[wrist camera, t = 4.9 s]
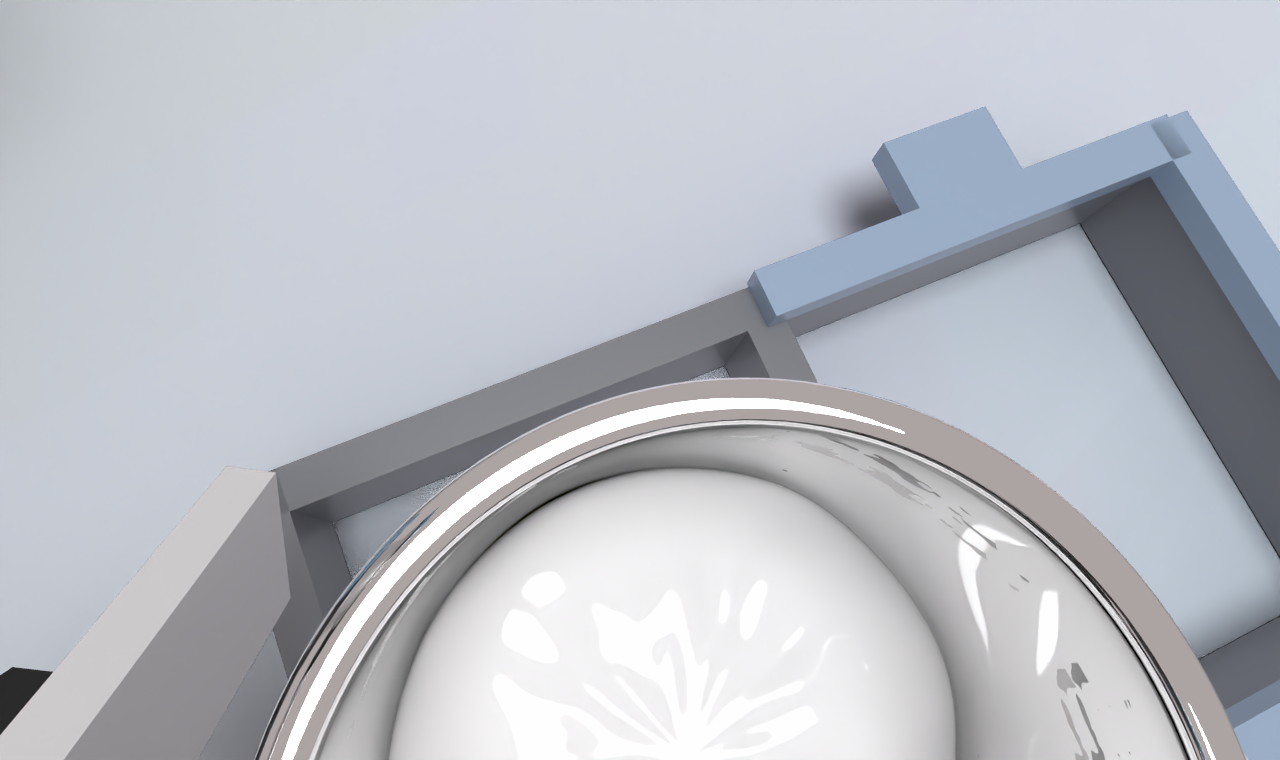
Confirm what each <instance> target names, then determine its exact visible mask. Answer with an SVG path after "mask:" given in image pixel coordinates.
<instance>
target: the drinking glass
mask: <svg viewBox="0 0 1280 760" xmlns="http://www.w3.org/2000/svg"><path fill="white" fill-rule="evenodd" d="M254 760H1246V758H1245V755H1244V753H1243V750H1242V748H1241V746H1240V743H1239V741H1238V738H1237V736H1236V733H1235V731H1234V729H1233V727H1232V724H1231V722H1230V720H1229V718H1228V716H1227V714H1226V711H1225V709H1224V707H1223V705H1222V703H1221V701H1220V699H1219V697H1218V695H1217V693H1216V691H1215V689H1214V687H1213V685H1212V683H1211V682H1210V680H1209V678H1208V676H1207V674H1206V673H1205V671H1204V669H1203V667H1202V665H1201V663H1200V662H1199V660H1198V658H1197V656H1196V655H1195V653H1194V652H1193V650H1192V648H1191V647H1190V645H1189V643H1188V642H1187V640H1186V638H1185V637H1184V635H1183V634H1182V632H1181V631H1180V629H1179V628H1178V626H1177V625H1176V623H1175V622H1174V620H1173V619H1172V617H1171V616H1170V614H1169V613H1168V612H1167V610H1166V609H1165V607H1164V606H1163V605H1162V603H1161V602H1160V601H1159V599H1158V598H1157V597H1156V595H1155V594H1154V593H1153V591H1152V590H1151V589H1150V587H1149V586H1148V585H1147V584H1146V582H1145V581H1144V580H1143V578H1142V577H1141V576H1140V575H1139V573H1138V572H1137V571H1136V570H1135V569H1134V568H1133V566H1132V565H1131V564H1130V563H1129V562H1128V561H1127V559H1126V558H1125V557H1124V556H1123V555H1122V554H1121V553H1120V552H1119V550H1118V549H1117V548H1116V547H1115V546H1114V545H1113V544H1112V543H1111V542H1110V541H1109V540H1108V539H1107V538H1106V537H1105V536H1104V535H1103V534H1102V533H1101V532H1100V531H1099V530H1098V529H1097V528H1096V527H1095V526H1094V525H1093V524H1092V523H1091V522H1090V521H1089V520H1088V519H1087V518H1086V517H1085V516H1084V515H1082V514H1081V513H1080V512H1079V511H1078V510H1077V509H1076V508H1075V507H1074V506H1073V505H1071V504H1070V503H1069V502H1068V501H1067V500H1066V499H1064V498H1063V497H1062V496H1061V495H1060V494H1058V493H1057V492H1056V491H1055V490H1054V489H1052V488H1051V487H1050V486H1049V485H1047V484H1046V483H1045V482H1043V481H1042V480H1041V479H1039V478H1038V477H1037V476H1035V475H1034V474H1033V473H1031V472H1030V471H1028V470H1027V469H1025V468H1024V467H1023V466H1021V465H1020V464H1018V463H1017V462H1015V461H1014V460H1012V459H1011V458H1009V457H1008V456H1006V455H1005V454H1003V453H1001V452H1000V451H998V450H997V449H995V448H993V447H992V446H990V445H988V444H986V443H985V442H983V441H981V440H979V439H978V438H976V437H974V436H972V435H970V434H968V433H966V432H964V431H962V430H960V429H959V428H957V427H955V426H952V425H950V424H948V423H946V422H944V421H942V420H939V419H937V418H935V417H933V416H930V415H928V414H925V413H923V412H921V411H918V410H916V409H913V408H910V407H908V406H905V405H902V404H899V403H896V402H894V401H891V400H887V399H884V398H880V397H877V396H874V395H870V394H866V393H863V392H859V391H855V390H851V389H846V388H841V387H836V386H831V385H826V384H819V383H813V382H807V381H798V380H788V379H774V378H716V379H705V380H694V381H687V382H679V383H672V384H667V385H662V386H656V387H651V388H647V389H642V390H638V391H634V392H629V393H626V394H622V395H619V396H616V397H612V398H609V399H605V400H602V401H600V402H597V403H594V404H591V405H588V406H585V407H582V408H580V409H577V410H575V411H572V412H570V413H567V414H565V415H562V416H560V417H558V418H556V419H553V420H551V421H549V422H547V423H545V424H542V425H540V426H538V427H536V428H535V429H533V430H531V431H529V432H527V433H525V434H523V435H521V436H519V437H517V438H516V439H514V440H512V441H510V442H509V443H507V444H505V445H504V446H502V447H500V448H499V449H497V450H495V451H494V452H492V453H491V454H489V455H487V456H486V457H484V458H483V459H481V460H480V461H478V462H477V463H475V464H474V465H473V466H471V467H470V468H468V469H467V470H465V471H464V472H463V473H461V474H460V475H459V476H457V477H456V478H455V479H453V480H452V481H451V482H450V483H448V484H447V485H446V486H444V487H443V488H442V489H441V490H439V491H438V492H437V493H436V494H435V495H434V496H432V497H431V498H430V499H429V500H428V501H426V502H425V503H424V504H423V505H422V506H421V507H420V508H419V509H418V510H416V511H415V512H414V513H413V514H412V515H411V516H410V517H409V518H408V519H407V520H406V521H405V522H404V523H403V524H402V525H401V526H400V527H399V528H398V529H397V530H396V531H395V532H394V533H393V534H392V535H391V536H390V537H389V538H388V539H387V540H386V541H385V542H384V543H383V545H382V546H381V547H380V548H379V549H378V550H377V551H376V552H375V554H374V555H373V556H372V557H371V558H370V559H369V560H368V561H367V563H366V564H365V565H364V566H363V568H362V569H361V570H360V571H359V572H358V574H357V575H356V576H355V577H354V579H353V580H352V581H351V582H350V584H349V585H348V586H347V588H346V589H345V590H344V592H343V593H342V594H341V596H340V597H339V598H338V600H337V601H336V603H335V604H334V605H333V607H332V608H331V610H330V611H329V613H328V614H327V616H326V617H325V619H324V620H323V622H322V623H321V625H320V626H319V628H318V629H317V631H316V633H315V634H314V636H313V638H312V639H311V641H310V643H309V644H308V646H307V647H306V649H305V651H304V653H303V654H302V656H301V658H300V660H299V662H298V663H297V665H296V667H295V669H294V671H293V672H292V674H291V676H290V678H289V680H288V682H287V684H286V686H285V688H284V690H283V692H282V694H281V696H280V698H279V700H278V702H277V704H276V707H275V709H274V711H273V713H272V716H271V718H270V720H269V722H268V724H267V727H266V729H265V732H264V734H263V737H262V739H261V742H260V745H259V747H258V750H257V752H256V755H255V758H254Z"/></svg>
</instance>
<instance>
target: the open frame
mask: <svg viewBox="0 0 1280 760" xmlns="http://www.w3.org/2000/svg"><path fill="white" fill-rule="evenodd" d="M872 161H873V163H874V165H875V167H876V169H877V171H878V172H879V174H880V176H881V178H882V180H883V182H884V183H885V185H886V187H887V189H888V191H889V193H890V194H891V196H892V198H893V200H894V202H895V204H896V205H897V207H898V209H899V211H900V213H901V215H900V216H897V217H895V218H892V219H890V220H887V221H884V222H882V223H879V224H876V225H874V226H871V227H868V228H866V229H863V230H861V231H858V232H855V233H853V234H850V235H847V236H845V237H842V238H839V239H837V240H834V241H832V242H829V243H826V244H824V245H821V246H818V247H816V248H813V249H811V250H808V251H805V252H803V253H800V254H797V255H795V256H792V257H789V258H787V259H784V260H782V261H779V262H776V263H774V264H771V265H768V266H766V267H763V268H760V269H758V270H755V271H754V272H753V274H752V276H751V278H750V280H749V281H748V283H747V284H748V288H746V289H743V290H741V291H738V292H735V293H733V294H730V295H728V296H725V297H722V298H720V299H717V300H715V301H712V302H709V303H707V304H704V305H701V306H699V307H696V308H694V309H691V310H688V311H686V312H683V313H681V314H678V315H675V316H673V317H670V318H668V319H665V320H662V321H660V322H657V323H655V324H652V325H649V326H647V327H644V328H641V329H639V330H636V331H634V332H631V333H628V334H626V335H623V336H621V337H618V338H615V339H613V340H610V341H608V342H605V343H602V344H600V345H597V346H594V347H592V348H589V349H587V350H584V351H581V352H579V353H576V354H574V355H571V356H568V357H566V358H563V359H561V360H558V361H555V362H553V363H550V364H548V365H545V366H542V367H540V368H537V369H534V370H532V371H529V372H527V373H524V374H521V375H519V376H516V377H514V378H511V379H508V380H506V381H503V382H501V383H498V384H495V385H493V386H490V387H487V388H485V389H482V390H480V391H477V392H474V393H472V394H469V395H467V396H464V397H461V398H459V399H456V400H454V401H451V402H448V403H446V404H443V405H441V406H438V407H435V408H433V409H430V410H427V411H425V412H422V413H420V414H417V415H414V416H412V417H409V418H407V419H404V420H401V421H399V422H396V423H394V424H391V425H388V426H386V427H383V428H380V429H378V430H375V431H373V432H370V433H367V434H365V435H362V436H360V437H357V438H354V439H352V440H349V441H347V442H344V443H341V444H339V445H336V446H334V447H331V448H328V449H326V450H323V451H320V452H318V453H315V454H313V455H310V456H307V457H305V458H302V459H300V460H297V461H294V462H292V463H289V464H287V465H284V466H281V467H279V468H276V469H273V470H271V471H268V472H276V478H277V487H278V495H279V503H280V512H281V520H282V529H283V537H284V546H285V554H286V563H287V571H288V580H289V588H290V597H291V598H290V600H289V602H288V603H287V605H286V607H285V609H284V610H283V612H282V614H281V615H280V617H279V619H278V621H277V622H276V624H275V626H274V628H273V631H274V635H275V638H276V641H277V644H278V648H279V651H280V654H281V658H282V661H283V664H284V667H285V671H286V674H287V677H288V680H289V678H290V676H291V674H292V672H293V671H294V669H295V667H296V665H297V663H298V662H299V660H300V658H301V656H302V654H303V653H304V651H305V649H306V647H307V646H308V644H309V643H310V641H311V639H312V638H313V636H314V634H315V633H316V631H317V629H318V628H319V626H320V625H321V623H322V622H323V620H324V619H325V617H326V616H327V614H328V613H329V611H330V610H331V608H332V607H333V605H334V604H335V603H336V601H337V600H338V598H339V597H340V596H341V594H342V593H343V592H344V590H345V589H346V588H347V586H348V585H349V584H350V582H351V581H352V579H351V576H350V573H349V570H348V567H347V564H346V561H345V558H344V555H343V552H342V549H341V546H340V543H339V540H338V537H337V534H336V531H335V528H334V525H333V522H335V521H338V520H340V519H343V518H345V517H348V516H350V515H353V514H355V513H358V512H360V511H363V510H365V509H368V508H370V507H373V506H375V505H378V504H380V503H383V502H385V501H388V500H390V499H393V498H395V497H398V496H400V495H403V494H405V493H408V492H410V491H413V490H415V489H418V488H420V487H423V486H425V485H428V484H430V483H433V482H435V481H437V480H440V479H442V478H445V477H447V476H450V475H452V474H455V473H457V472H460V471H462V470H465V469H467V468H470V467H471V466H473V465H474V464H475V463H477V462H478V461H480V460H481V459H483V458H484V457H486V456H487V455H489V454H491V453H492V452H494V451H495V450H497V449H499V448H500V447H502V446H504V445H505V444H507V443H509V442H510V441H512V440H514V439H516V438H517V437H519V436H521V435H523V434H525V433H527V432H529V431H531V430H533V429H535V428H536V427H538V426H540V425H542V424H545V423H547V422H549V421H551V420H553V419H556V418H558V417H560V416H562V415H565V414H567V413H570V412H572V411H575V410H577V409H580V408H582V407H585V406H588V405H591V404H594V403H597V402H600V401H602V400H605V399H609V398H612V397H616V396H619V395H622V394H626V393H629V392H634V391H638V390H642V389H647V388H651V387H656V386H662V385H667V384H672V383H679V382H685V381H687V380H690V379H692V378H695V377H697V376H700V375H702V374H705V373H707V372H710V371H712V370H715V369H717V368H720V367H722V366H725V367H726V369H727V372H728V374H729V376H730V378H774V379H788V380H798V381H807V382H813V383H817V381H816V379H815V377H814V374H813V372H812V370H811V368H810V366H809V364H808V362H807V360H806V358H805V356H804V354H803V352H802V350H801V348H800V346H799V344H798V342H797V340H796V338H795V337H797V336H800V335H802V334H805V333H807V332H810V331H812V330H815V329H817V328H820V327H822V326H825V325H827V324H830V323H832V322H835V321H837V320H840V319H842V318H845V317H847V316H850V315H852V314H855V313H857V312H860V311H862V310H865V309H867V308H870V307H872V306H875V305H877V304H880V303H882V302H885V301H887V300H890V299H892V298H895V297H897V296H900V295H902V294H905V293H907V292H910V291H912V290H915V289H917V288H920V287H922V286H925V285H927V284H930V283H932V282H935V281H937V280H940V279H942V278H945V277H947V276H950V275H952V274H955V273H957V272H960V271H962V270H965V269H967V268H970V267H972V266H975V265H977V264H980V263H982V262H985V261H987V260H990V259H992V258H995V257H997V256H1000V255H1002V254H1005V253H1007V252H1010V251H1012V250H1015V249H1017V248H1020V247H1022V246H1025V245H1027V244H1030V243H1032V242H1035V241H1037V240H1040V239H1042V238H1045V237H1047V236H1050V235H1052V234H1055V233H1057V232H1060V231H1062V230H1065V229H1067V228H1070V227H1072V226H1075V225H1077V224H1081V226H1082V227H1083V229H1084V231H1085V232H1086V234H1087V236H1088V237H1089V239H1090V241H1091V242H1092V244H1093V246H1094V247H1095V249H1096V251H1097V252H1098V254H1099V256H1100V257H1101V259H1102V261H1103V262H1104V264H1105V266H1106V267H1107V269H1108V271H1109V272H1110V274H1111V276H1112V277H1113V279H1114V281H1115V282H1116V284H1117V286H1118V287H1119V289H1120V291H1121V292H1122V294H1123V296H1124V297H1125V299H1126V301H1127V302H1128V304H1129V306H1130V307H1131V309H1132V311H1133V312H1134V314H1135V316H1136V317H1137V319H1138V321H1139V322H1140V324H1141V326H1142V327H1143V329H1144V331H1145V332H1146V334H1147V336H1148V337H1149V339H1150V341H1151V342H1152V344H1153V346H1154V347H1155V349H1156V351H1157V353H1158V354H1159V356H1160V358H1161V359H1162V361H1163V363H1164V364H1165V366H1166V368H1167V369H1168V371H1169V373H1170V374H1171V376H1172V378H1173V379H1174V381H1175V383H1176V384H1177V386H1178V388H1179V389H1180V391H1181V393H1182V394H1183V396H1184V398H1185V399H1186V401H1187V403H1188V404H1189V406H1190V408H1191V409H1192V411H1193V413H1194V414H1195V416H1196V418H1197V419H1198V421H1199V423H1200V424H1201V426H1202V428H1203V429H1204V431H1205V433H1206V434H1207V436H1208V438H1209V439H1210V441H1211V443H1212V444H1213V446H1214V448H1215V449H1216V451H1217V453H1218V454H1219V456H1220V458H1221V459H1222V461H1223V463H1224V464H1225V466H1226V468H1227V469H1228V471H1229V473H1230V474H1231V476H1232V478H1233V479H1234V481H1235V483H1236V484H1237V486H1238V488H1239V489H1240V491H1241V493H1242V494H1243V496H1244V498H1245V499H1246V501H1247V503H1248V504H1249V506H1250V508H1251V509H1252V511H1253V513H1254V514H1255V516H1256V518H1257V519H1258V521H1259V523H1260V524H1261V526H1262V528H1263V529H1264V531H1265V533H1266V534H1267V536H1268V538H1269V539H1270V541H1271V543H1272V544H1273V546H1274V548H1275V549H1276V551H1277V553H1278V554H1279V556H1280V251H1279V250H1278V248H1277V247H1276V245H1275V244H1274V242H1273V241H1272V239H1271V238H1270V236H1269V235H1268V233H1267V232H1266V230H1265V228H1264V227H1263V225H1262V224H1261V222H1260V221H1259V219H1258V218H1257V216H1256V215H1255V213H1254V212H1253V210H1252V209H1251V207H1250V206H1249V204H1248V203H1247V201H1246V200H1245V198H1244V196H1243V195H1242V193H1241V192H1240V190H1239V189H1238V187H1237V186H1236V184H1235V183H1234V181H1233V180H1232V178H1231V177H1230V175H1229V174H1228V172H1227V171H1226V169H1225V168H1224V166H1223V164H1222V163H1221V161H1220V160H1219V158H1218V157H1217V155H1216V154H1215V152H1214V151H1213V149H1212V148H1211V146H1210V145H1209V143H1208V142H1207V140H1206V139H1205V137H1204V136H1203V134H1202V132H1201V131H1200V129H1199V128H1198V126H1197V125H1196V123H1195V122H1194V120H1193V119H1192V117H1191V116H1190V114H1189V113H1188V111H1184V112H1182V113H1179V114H1177V115H1174V116H1171V117H1168V116H1167V114H1166V115H1164V116H1161V117H1158V118H1156V119H1153V120H1150V121H1148V122H1145V123H1142V124H1140V125H1137V126H1135V127H1132V128H1129V129H1127V130H1124V131H1121V132H1119V133H1116V134H1113V135H1111V136H1108V137H1106V138H1103V139H1100V140H1098V141H1095V142H1092V143H1090V144H1087V145H1084V146H1082V147H1079V148H1077V149H1074V150H1071V151H1069V152H1066V153H1063V154H1061V155H1058V156H1056V157H1053V158H1050V159H1048V160H1045V161H1042V162H1040V163H1037V164H1034V165H1032V166H1029V167H1027V168H1024V169H1022V168H1021V166H1020V164H1019V162H1018V161H1017V159H1016V157H1015V156H1014V154H1013V152H1012V151H1011V149H1010V147H1009V146H1008V144H1007V142H1006V140H1005V139H1004V137H1003V135H1002V134H1001V132H1000V130H999V129H998V127H997V125H996V124H995V122H994V120H993V118H992V117H991V115H990V113H989V112H988V110H987V108H986V107H982V108H980V109H977V110H974V111H971V112H968V113H966V114H963V115H960V116H957V117H954V118H952V119H949V120H946V121H943V122H941V123H938V124H935V125H932V126H929V127H927V128H924V129H921V130H918V131H916V132H913V133H910V134H907V135H904V136H902V137H899V138H896V139H893V140H890V141H888V142H885V143H883V145H882V146H881V148H880V149H879V150H878V152H877V153H876V155H875V156H874V158H873V159H872ZM1199 662H1200V663H1201V665H1202V667H1203V669H1204V671H1205V673H1206V674H1207V676H1208V678H1209V680H1210V682H1211V683H1212V685H1213V687H1214V689H1215V691H1216V693H1217V695H1218V697H1219V699H1220V701H1221V703H1222V705H1223V707H1224V709H1225V711H1226V714H1227V716H1228V718H1229V720H1230V722H1231V724H1232V727H1233V729H1234V731H1235V733H1236V736H1237V738H1238V741H1239V743H1240V746H1241V748H1242V750H1243V753H1244V754H1245V755H1246V757H1247V758H1248V760H1280V616H1279V617H1278V618H1276V619H1274V620H1272V621H1270V622H1268V623H1266V624H1265V625H1263V626H1261V627H1259V628H1257V629H1255V630H1253V631H1252V632H1250V633H1248V634H1246V635H1244V636H1242V637H1240V638H1238V639H1237V640H1235V641H1233V642H1231V643H1229V644H1227V645H1225V646H1224V647H1222V648H1220V649H1218V650H1216V651H1214V652H1212V653H1211V654H1209V655H1207V656H1205V657H1203V658H1201V659H1199Z"/></svg>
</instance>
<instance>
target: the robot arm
mask: <svg viewBox="0 0 1280 760" xmlns="http://www.w3.org/2000/svg"><path fill="white" fill-rule="evenodd" d="M290 598H291V597H290V588H289V580H288V571H287V563H286V554H285V546H284V537H283V529H282V520H281V512H280V503H279V495H278V487H277V478H276V472H268V471H261V470H253V469H245V468H237V467H230V466H226V468H225V469H224V470H223V471H222V472H221V473H220V475H219V476H218V477H217V478H216V479H215V481H214V482H213V483H212V484H211V485H210V487H209V488H208V489H207V490H206V491H205V493H204V494H203V495H202V496H201V497H200V498H199V500H198V501H197V502H196V503H195V504H194V506H193V507H192V508H191V509H190V510H189V512H188V513H187V514H186V515H185V516H184V517H183V519H182V520H181V521H180V522H179V523H178V525H177V526H176V527H175V528H174V529H173V531H172V532H171V533H170V534H169V535H168V536H167V538H166V539H165V540H164V541H163V542H162V544H161V545H160V546H159V547H158V548H157V550H156V551H155V552H154V553H153V554H152V555H151V557H150V558H149V559H148V560H147V561H146V563H145V564H144V565H143V566H142V567H141V569H140V570H139V571H138V572H137V573H136V574H135V576H134V577H133V578H132V579H131V580H130V582H129V583H128V584H127V585H126V586H125V588H124V589H123V590H122V591H121V592H120V593H119V595H118V596H117V597H116V598H115V599H114V601H113V602H112V603H111V604H110V605H109V607H108V608H107V609H106V610H105V611H104V612H103V614H102V615H101V616H100V617H99V618H98V620H97V621H96V622H95V623H94V624H93V626H92V627H91V628H90V629H89V630H88V631H87V633H86V634H85V635H84V636H83V637H82V639H81V640H80V641H79V642H78V643H77V645H76V646H75V647H74V648H73V649H72V650H71V652H70V653H69V654H68V655H67V656H66V658H65V659H64V660H63V661H62V662H61V664H60V665H59V666H58V667H57V668H56V669H55V671H54V672H49V671H41V670H32V669H24V668H15V667H12V668H11V669H9V670H8V671H6V672H5V673H3V674H2V675H0V760H198V758H199V756H200V755H201V753H202V751H203V749H204V748H205V746H206V744H207V743H208V741H209V739H210V737H211V736H212V734H213V732H214V730H215V729H216V727H217V725H218V723H219V722H220V720H221V718H222V716H223V715H224V713H225V711H226V709H227V708H228V706H229V704H230V703H231V701H232V699H233V697H234V696H235V694H236V692H237V690H238V689H239V687H240V685H241V683H242V682H243V680H244V678H245V676H246V675H247V673H248V671H249V669H250V668H251V666H252V664H253V662H254V661H255V659H256V657H257V656H258V654H259V652H260V650H261V649H262V647H263V645H264V643H265V642H266V640H267V638H268V636H269V635H270V633H271V631H272V629H273V628H274V626H275V624H276V622H277V621H278V619H279V617H280V615H281V614H282V612H283V610H284V609H285V607H286V605H287V603H288V602H289V600H290ZM1244 755H1245V754H1244ZM1245 758H1246V760H1248V758H1247V757H1246V755H1245Z"/></svg>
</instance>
